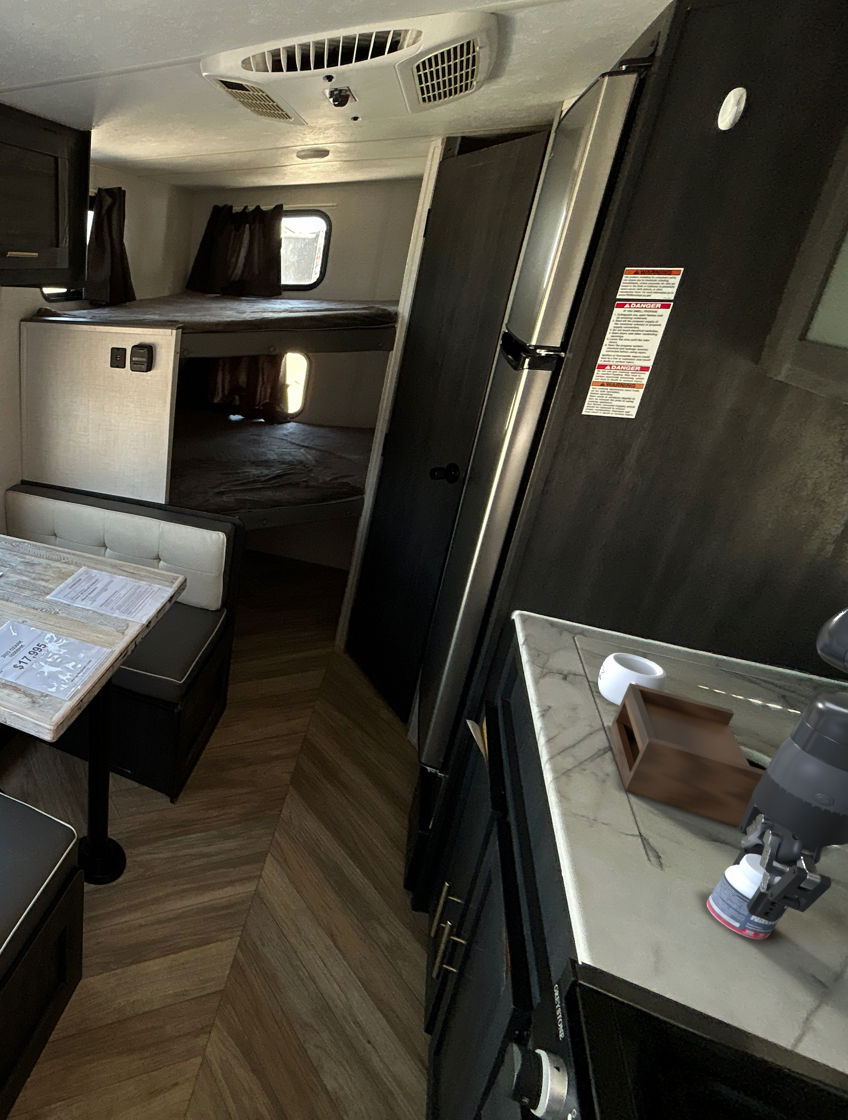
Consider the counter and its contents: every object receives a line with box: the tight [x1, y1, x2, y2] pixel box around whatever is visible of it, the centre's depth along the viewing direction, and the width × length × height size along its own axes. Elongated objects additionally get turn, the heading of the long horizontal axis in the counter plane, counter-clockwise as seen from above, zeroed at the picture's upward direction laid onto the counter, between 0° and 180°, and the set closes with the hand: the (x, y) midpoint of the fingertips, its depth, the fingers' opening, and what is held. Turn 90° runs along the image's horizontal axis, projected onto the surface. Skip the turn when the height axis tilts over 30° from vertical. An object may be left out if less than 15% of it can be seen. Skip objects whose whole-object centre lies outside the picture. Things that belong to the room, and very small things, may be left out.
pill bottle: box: [706, 854, 789, 940], centre depth 74 cm, size 5×5×9 cm
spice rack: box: [609, 683, 766, 829], centre depth 95 cm, size 12×16×10 cm
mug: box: [597, 652, 668, 706], centre depth 110 cm, size 12×8×8 cm
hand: (751, 894), depth 74 cm, fingers closed on pill bottle, 5 cm apart
